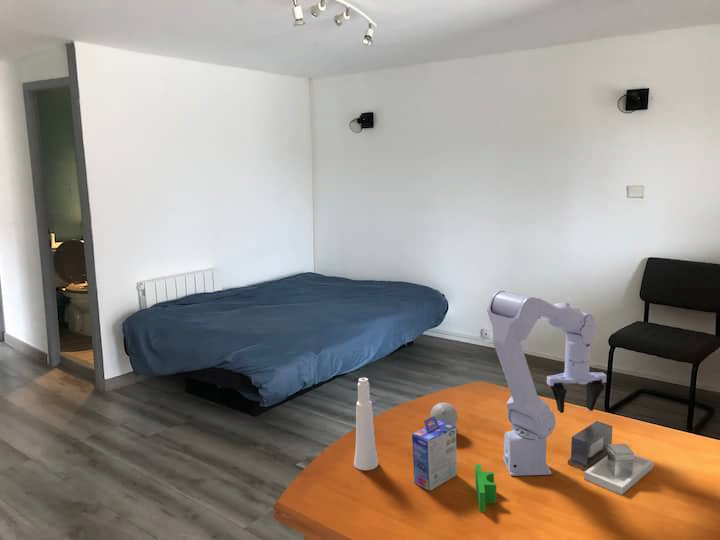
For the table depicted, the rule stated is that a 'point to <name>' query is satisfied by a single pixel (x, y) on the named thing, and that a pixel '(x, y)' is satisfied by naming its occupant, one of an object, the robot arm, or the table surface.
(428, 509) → the table surface
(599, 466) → the tray
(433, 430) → the ink cartridge box
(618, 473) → the block
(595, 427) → the mounted housing
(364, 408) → the cosmetic bottle
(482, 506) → the pipe clamp
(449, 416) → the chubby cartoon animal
